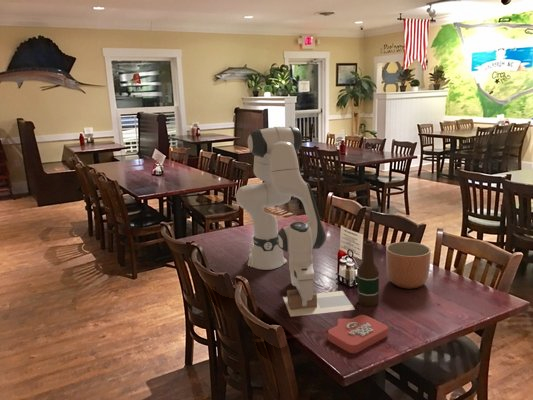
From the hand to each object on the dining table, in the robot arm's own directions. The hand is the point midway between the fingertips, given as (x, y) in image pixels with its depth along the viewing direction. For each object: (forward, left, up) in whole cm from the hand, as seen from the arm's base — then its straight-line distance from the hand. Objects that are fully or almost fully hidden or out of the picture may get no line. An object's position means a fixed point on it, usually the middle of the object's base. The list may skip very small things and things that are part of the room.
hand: (302, 300), depth 170 cm
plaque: (+23, +13, -3) cm, 27 cm away
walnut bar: (0, 0, -2) cm, 2 cm away
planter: (-10, +46, -3) cm, 47 cm away
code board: (0, +6, -2) cm, 6 cm away
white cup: (-19, +3, -3) cm, 19 cm away
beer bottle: (+2, +25, -3) cm, 25 cm away
